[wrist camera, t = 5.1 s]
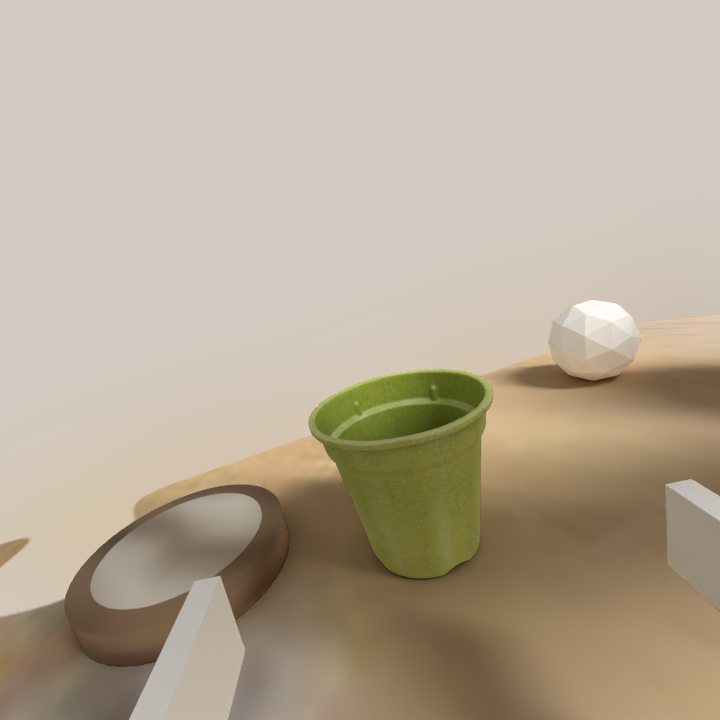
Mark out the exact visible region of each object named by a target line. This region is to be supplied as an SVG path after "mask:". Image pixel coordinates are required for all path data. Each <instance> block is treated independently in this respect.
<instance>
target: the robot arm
mask: <svg viewBox="0 0 720 720" xmlns="http://www.w3.org/2000/svg"><path fill="white" fill-rule="evenodd" d="M665 493H666V527H667V561H668V565H669V566H670V567H671V568H672V569H673V570H674V571H675V572H677V573H678V574H679V575H680V576H681V577H682V578H683V579H684V580H685V581H686V582H687V583H689V584H690V585H691V586H692V587H693V588H694V589H695V590H696V591H697V592H698V593H699V594H701V595H702V596H703V597H704V598H705V599H706V600H707V601H708V602H709V603H710V604H711V605H713V606H714V607H715V608H716V609H717V610H718V611H719V612H720V496H719V495H717V494H715V493H714V492H712V491H710V490H709V489H707V488H705V487H704V486H702V485H701V484H699V483H697V482H696V481H694V480H692V479H689V480H684V481H679V482H674V483H669V484H665ZM244 655H245V648H244V645H243V642H242V639H241V636H240V633H239V630H238V627H237V624H236V621H235V618H234V615H233V612H232V609H231V606H230V603H229V600H228V597H227V594H226V591H225V588H224V585H223V582H222V579H221V576H217V577H212V578H207V579H202V580H197V581H194V583H193V585H192V587H191V590H190V592H189V594H188V596H187V598H186V600H185V602H184V604H183V606H182V609H181V611H180V613H179V615H178V617H177V619H176V621H175V623H174V626H173V628H172V630H171V632H170V634H169V636H168V638H167V640H166V642H165V645H164V647H163V649H162V651H161V653H160V655H159V657H158V659H157V661H156V664H155V666H154V668H153V670H152V672H151V674H150V676H149V678H148V680H147V683H146V685H145V687H144V689H143V691H142V693H141V695H140V697H139V699H138V702H137V704H136V706H135V708H134V710H133V712H132V714H131V716H130V719H129V720H228V717H229V713H230V710H231V706H232V702H233V698H234V694H235V690H236V686H237V682H238V678H239V674H240V670H241V666H242V662H243V658H244Z"/></svg>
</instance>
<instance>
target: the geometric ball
mask: <svg viewBox="0 0 720 720" xmlns="http://www.w3.org/2000/svg"><path fill="white" fill-rule="evenodd" d="M641 339H642V337H641V335H640V333H639V331H638V329H637V327H636V325H635V323H634V321H633V319H632V318H631V316H630V315H629V314H628V313H627V312H626V311H624V310H623V309H622V308H621V307H620V306H619V305H618V304H616V303H609V302H602V301H595V300H590V301H587V302H584V303H581V304H577V305H574V306H572V307H570V308H568V309H567V310H565V311H564V312H563V313H562V314H561V315H560V316H558V317H557V318H556V319H555V320H554V321H553V324H552V328H551V333H550V337H549V342H548V343H549V346H550V350H551V353H552V357H553V360H554V362H555V363H557V364H558V365H559V366H560V367H561V368H562V369H563V370H564V371H565V372H566V373H567V374H568V375H571V376H575V377H579V378H583V379H586V380H590V381H595V380H600V379H604V378H608V377H612V376H616V375H619V374H620V373H621V372H622V371H623V370H624V369H625V368H626V367H627V366H628V365H629V364H630V363H631V362H632V361H633V360H634V358H635V355H636V352H637V350H638V347H639V344H640V342H641Z"/></svg>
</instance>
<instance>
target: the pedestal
mask: <svg viewBox="0 0 720 720" xmlns="http://www.w3.org/2000/svg"><path fill="white" fill-rule="evenodd" d="M288 547H289V534H288V530H287V526H286V523H285V519H284V516H283V512H282V509H281V506H280V503H279V501H278V499H277V497H276V496H275V495H274V494H273V493H271V492H270V491H269V490H267V489H264V488H262V487H258V486H253V485H227V486H220V487H215V488H210V489H206V490H203V491H199V492H196V493H193V494H190V495H187V496H184V497H182V498H179V499H177V500H174V501H172V502H170V503H168V504H165V505H163V506H161V507H159V508H157V509H155V510H153V511H151V512H150V513H148V514H146V515H144V516H142V517H141V518H139V519H138V520H136V521H134V522H133V523H131V524H130V525H128V526H127V527H125V528H124V529H122V530H121V531H120V532H118V533H117V534H116V535H114V536H113V537H112V538H110V539H109V540H108V541H107V542H106V543H105V544H103V545H102V546H101V547H100V548H99V549H98V550H97V551H96V552H95V553H94V554H93V555H92V556H91V557H90V558H89V559H88V560H87V561H86V562H85V564H84V565H83V566H82V567H81V569H80V570H79V571H78V573H77V574H76V576H75V577H74V579H73V581H72V582H71V584H70V586H69V589H68V591H67V594H66V598H65V612H66V615H67V617H68V619H69V621H70V623H71V625H72V627H73V630H74V632H75V634H76V636H77V638H78V640H79V642H80V644H81V647H82V649H83V651H84V652H85V653H86V654H87V655H88V656H89V657H90V658H91V659H93V660H95V661H97V662H98V663H102V664H106V665H110V666H134V665H141V664H146V663H151V662H155V661H157V659H158V657H159V655H160V653H161V651H162V649H163V647H164V645H165V642H166V640H167V638H168V636H169V634H170V632H171V630H172V628H173V626H174V623H175V621H176V619H177V617H178V615H179V613H180V611H181V609H182V606H183V604H184V602H185V600H186V598H187V596H188V594H189V592H190V590H191V587H192V585H193V583H194V581H197V580H202V579H207V578H212V577H217V576H221V579H222V582H223V585H224V588H225V591H226V594H227V597H228V600H229V603H230V606H231V609H232V612H233V615H234V618H235V620H236V619H237V618H239V617H240V616H241V615H242V614H243V613H244V612H246V611H247V610H248V609H249V608H250V607H251V606H252V605H253V604H254V603H255V602H256V601H257V600H258V599H259V598H260V597H261V596H262V595H263V594H264V592H265V591H266V590H267V589H268V588H269V586H270V585H271V584H272V582H273V581H274V579H275V578H276V576H277V575H278V573H279V571H280V569H281V568H282V566H283V564H284V561H285V558H286V556H287V552H288Z"/></svg>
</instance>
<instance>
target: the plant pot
mask: <svg viewBox="0 0 720 720" xmlns="http://www.w3.org/2000/svg"><path fill="white" fill-rule="evenodd" d="M492 400H493V390H492V386H491V385H490V383H489V382H488V381H487V380H486V379H484V378H483V377H481V376H479V375H476V374H473V373H470V372H466V371H460V370H451V369H426V370H425V369H424V370H415V371H407V372H400V373H395V374H391V375H386V376H382V377H377V378H374V379H370V380H367V381H364V382H361V383H358V384H355V385H353V386H350V387H348V388H346V389H344V390H342V391H340V392H338V393H336V394H334V395H332V396H331V397H329V398H327V399H326V400H324V401H323V402H322V403H320V404H319V406H318V407H316V408H315V409H314V411H313V412H312V414H311V416H310V418H309V422H308V423H309V428H310V431H311V433H312V435H313V436H314V437H315V438H316V439H317V440H318V441H320V442H321V443H323V445H324V447H325V450H326V452H327V454H328V455H329V457H330V458H331V459H332V460H333V461H334V462H335V463H336V465H337V467H338V470H339V472H340V474H341V476H342V479H343V481H344V483H345V485H346V488H347V490H348V492H349V494H350V497H351V499H352V501H353V504H354V506H355V508H356V511H357V513H358V515H359V517H360V520H361V522H362V525H363V527H364V530H365V532H366V535H367V537H368V540H369V542H370V544H371V547H372V549H373V552H374V553H375V555H376V556H377V557H378V559H379V560H380V561H381V562H382V563H383V565H384V566H385V567H386V568H387V569H388V570H390V571H392V572H394V573H396V574H398V575H401V576H405V577H409V578H433V577H439V576H442V575H445V574H447V573H448V572H449V571H450V570H451V569H452V568H454V567H455V566H456V565H458V564H460V563H462V562H464V561H468V560H470V559H471V558H472V557H473V555H474V554H475V553H476V551H477V549H478V546H479V544H480V539H481V505H480V478H481V435H482V434H483V431H484V429H485V425H486V411H487V410H488V409H489V407H490V406H491V403H492Z"/></svg>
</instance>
